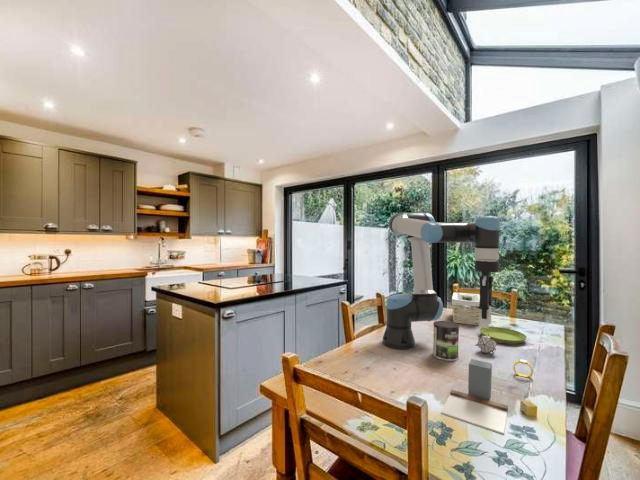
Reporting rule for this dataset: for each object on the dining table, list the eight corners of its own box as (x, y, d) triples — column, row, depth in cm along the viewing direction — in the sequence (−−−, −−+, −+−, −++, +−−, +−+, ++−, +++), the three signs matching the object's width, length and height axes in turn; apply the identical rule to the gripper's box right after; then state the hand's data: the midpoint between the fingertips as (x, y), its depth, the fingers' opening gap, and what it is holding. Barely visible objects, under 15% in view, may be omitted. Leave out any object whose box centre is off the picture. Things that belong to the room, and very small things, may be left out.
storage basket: (481, 326, 173) (481, 301, 173) (450, 323, 181) (451, 298, 180) (480, 316, 195) (480, 294, 194) (453, 313, 202) (453, 291, 202)
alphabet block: (529, 409, 91) (529, 400, 91) (537, 416, 88) (537, 405, 88) (519, 410, 91) (520, 400, 91) (527, 416, 88) (527, 406, 88)
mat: (440, 413, 89) (440, 411, 89) (450, 395, 99) (450, 394, 99) (503, 434, 80) (503, 433, 80) (507, 412, 90) (507, 411, 90)
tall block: (468, 397, 98) (468, 363, 98) (470, 390, 102) (471, 358, 102) (489, 403, 95) (489, 368, 94) (491, 396, 99) (491, 363, 98)
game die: (491, 362, 134) (503, 349, 128) (472, 354, 135) (483, 341, 129) (489, 346, 141) (501, 333, 135) (471, 338, 142) (482, 325, 136)
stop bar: (450, 395, 99) (450, 392, 99) (451, 393, 101) (451, 389, 101) (507, 412, 90) (507, 408, 90) (507, 409, 91) (507, 405, 91)
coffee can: (464, 359, 127) (464, 326, 127) (443, 362, 125) (443, 328, 124) (447, 350, 137) (448, 319, 137) (428, 352, 135) (428, 321, 134)
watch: (531, 377, 113) (533, 361, 112) (532, 380, 110) (534, 364, 110) (512, 372, 116) (514, 357, 116) (512, 375, 114) (514, 359, 113)
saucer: (472, 338, 155) (472, 332, 155) (487, 329, 168) (487, 324, 168) (519, 350, 139) (519, 343, 139) (531, 339, 153) (531, 333, 153)
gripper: (496, 262, 97) (494, 334, 97) (501, 259, 112) (500, 321, 112) (470, 261, 101) (469, 330, 102) (478, 258, 116) (477, 317, 116)
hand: (485, 325), depth 107 cm, fingers open, 5 cm apart
